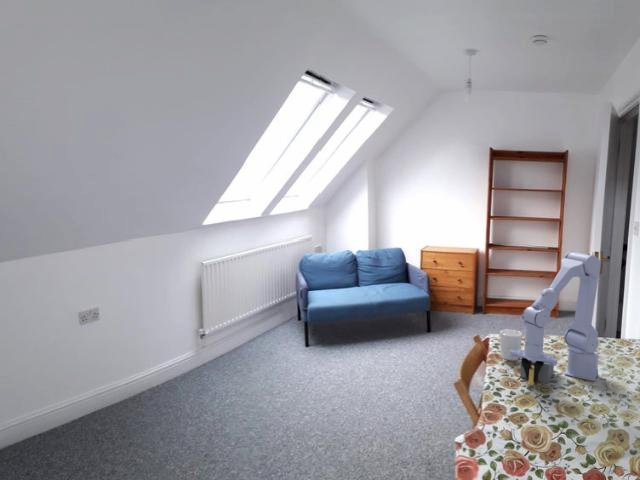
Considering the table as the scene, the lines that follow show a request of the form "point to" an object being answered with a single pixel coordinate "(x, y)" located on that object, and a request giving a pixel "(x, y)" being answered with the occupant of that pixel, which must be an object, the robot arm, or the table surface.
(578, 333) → the robot arm
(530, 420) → the table surface
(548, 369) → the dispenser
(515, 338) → the white cup
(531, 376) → the yellow rectangular block
